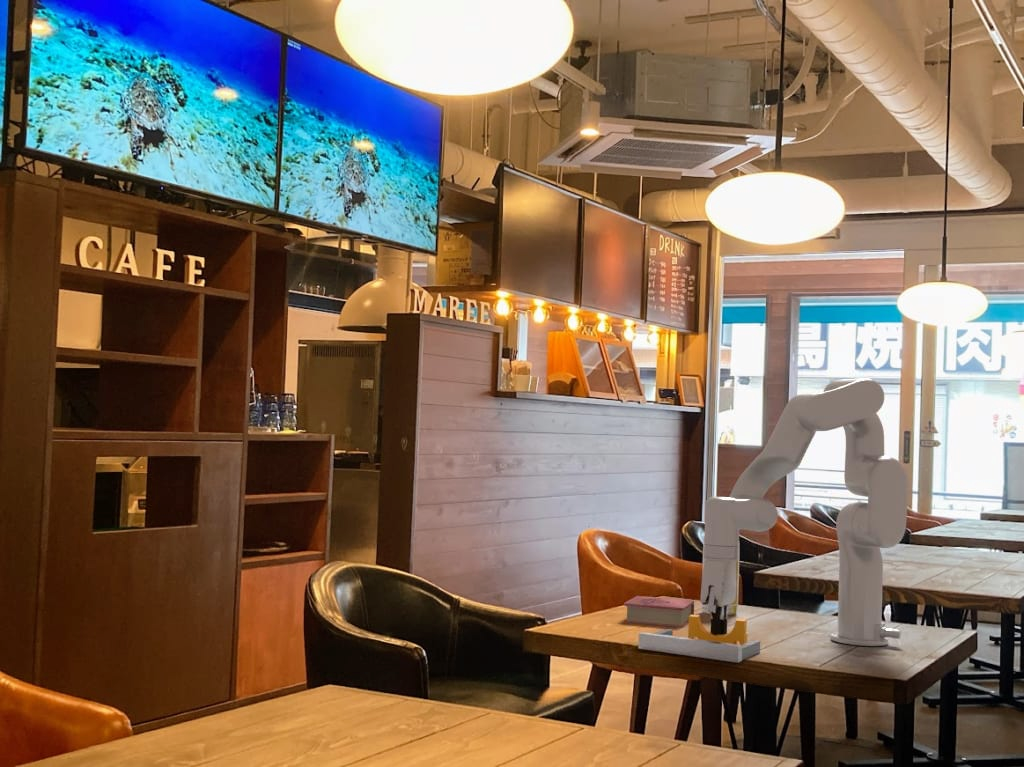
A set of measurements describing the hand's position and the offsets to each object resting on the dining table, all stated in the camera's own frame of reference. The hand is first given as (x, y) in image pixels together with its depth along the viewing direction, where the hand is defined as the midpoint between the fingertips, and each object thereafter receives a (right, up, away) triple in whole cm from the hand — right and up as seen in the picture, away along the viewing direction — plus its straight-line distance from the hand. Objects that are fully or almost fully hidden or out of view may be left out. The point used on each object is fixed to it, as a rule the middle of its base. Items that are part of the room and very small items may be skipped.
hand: (718, 636), depth 252 cm
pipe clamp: (-1, -2, -4) cm, 4 cm away
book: (-9, -3, +30) cm, 31 cm away
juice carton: (+8, -4, +45) cm, 45 cm away
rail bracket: (-6, -1, -9) cm, 11 cm away
